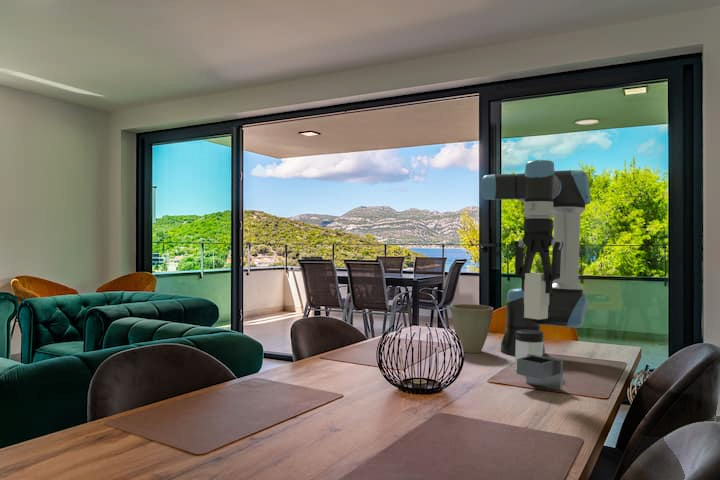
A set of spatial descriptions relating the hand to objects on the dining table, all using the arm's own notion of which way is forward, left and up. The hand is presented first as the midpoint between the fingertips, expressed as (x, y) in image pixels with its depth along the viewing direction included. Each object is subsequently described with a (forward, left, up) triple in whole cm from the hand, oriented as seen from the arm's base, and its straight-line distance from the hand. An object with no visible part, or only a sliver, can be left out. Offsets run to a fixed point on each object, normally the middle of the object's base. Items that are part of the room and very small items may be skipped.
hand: (536, 304), depth 148 cm
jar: (-18, -12, -23) cm, 32 cm away
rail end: (0, 0, -4) cm, 4 cm away
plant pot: (-28, -40, -23) cm, 54 cm away
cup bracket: (0, 0, -23) cm, 23 cm away
